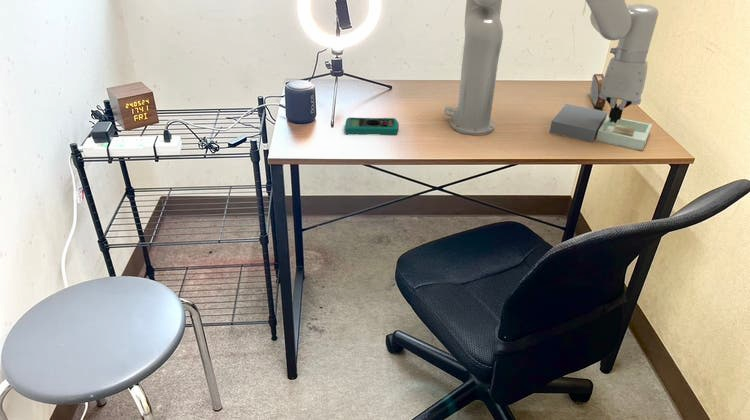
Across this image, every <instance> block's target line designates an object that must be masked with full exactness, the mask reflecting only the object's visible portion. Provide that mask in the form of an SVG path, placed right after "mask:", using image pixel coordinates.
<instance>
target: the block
mask: <svg viewBox="0 0 750 420" xmlns="http://www.w3.org/2000/svg"><path fill="white" fill-rule="evenodd" d="M634 132H635V128H630V127H625V126H620V125H616V127H615V128H614V130H613V133H616V134H621V135H626V136H630V137H633V135H634Z"/></svg>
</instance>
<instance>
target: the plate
mask: <svg viewBox="0 0 750 420" xmlns="http://www.w3.org/2000/svg"><path fill="white" fill-rule="evenodd" d="M607 116H608V111H605V110H599V109H594V108H590V107H584V106H579V105H576V104H575V105H574V104H570V103H565V104H564V106H563V107H562V108H561V109H560V110H559V112H558V113H557V114H556V115H555V116H554V117H553V118H552V120H551V121H550V126H549V132H548V133H549V134H554V135H559V136H563V137H568V138H572V139H575V140H580V141H584V142H585V141H586V142H590V143H593V142H594V141H596V138H597V134H598V130H599V129H600V127H601V126H602V124H603V122H604V121H605V119H606V118H607Z"/></svg>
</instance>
